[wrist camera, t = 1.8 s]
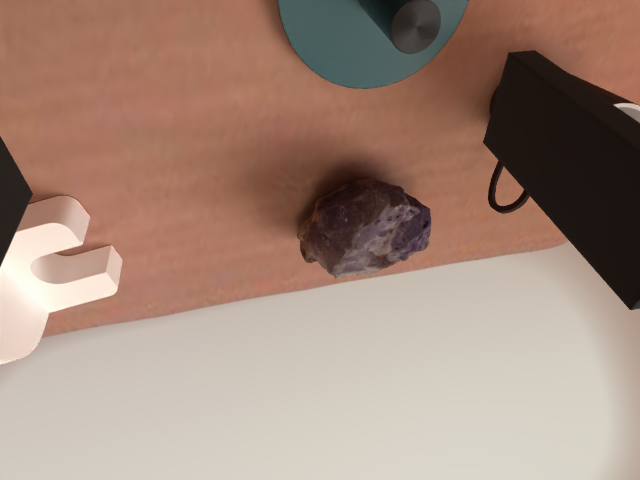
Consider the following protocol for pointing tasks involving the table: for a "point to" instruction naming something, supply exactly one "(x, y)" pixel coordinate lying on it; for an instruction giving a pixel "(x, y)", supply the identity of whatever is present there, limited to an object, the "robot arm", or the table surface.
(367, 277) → the table surface
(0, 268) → the white slotted holder
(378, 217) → the rock
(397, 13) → the pot lid
